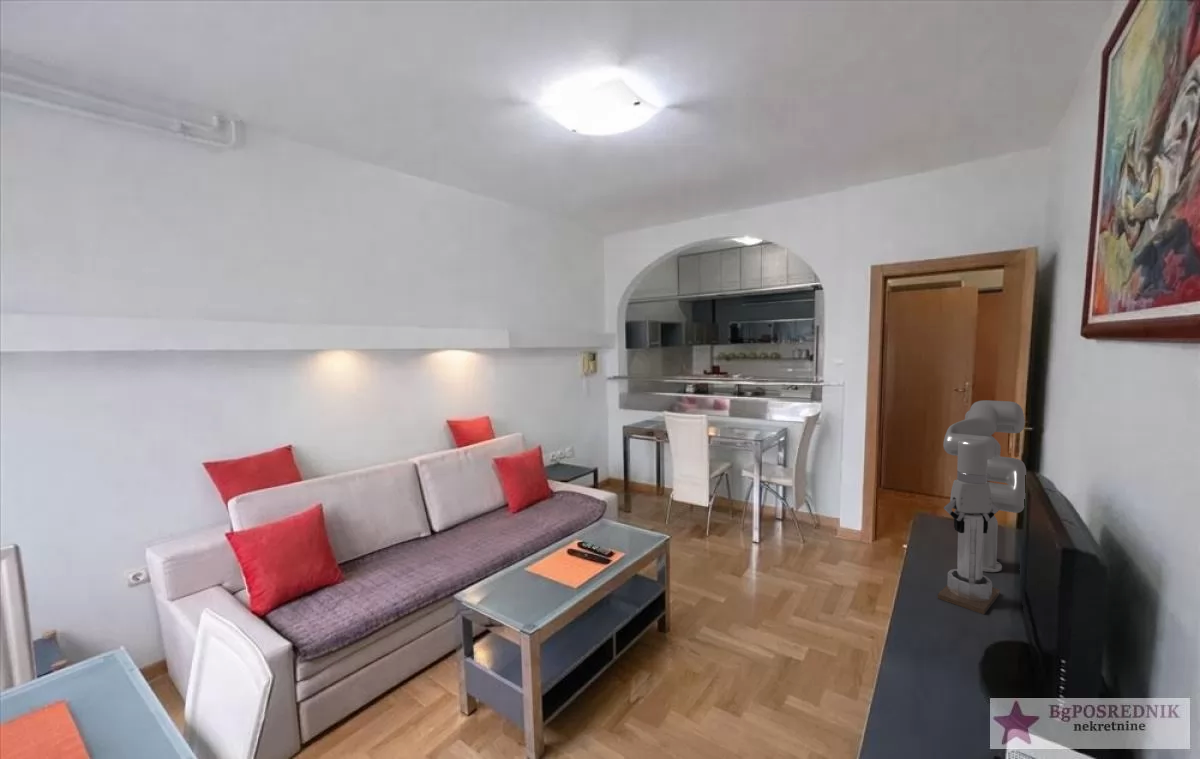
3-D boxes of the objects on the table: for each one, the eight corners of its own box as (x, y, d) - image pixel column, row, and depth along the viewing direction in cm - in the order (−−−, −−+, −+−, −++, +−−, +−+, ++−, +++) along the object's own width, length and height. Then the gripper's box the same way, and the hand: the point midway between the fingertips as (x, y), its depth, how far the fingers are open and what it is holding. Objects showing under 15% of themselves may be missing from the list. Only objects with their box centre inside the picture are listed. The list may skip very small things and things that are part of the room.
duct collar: (955, 580, 163) (956, 562, 162) (999, 594, 153) (1000, 575, 153) (937, 598, 152) (938, 579, 151) (984, 614, 142) (984, 594, 142)
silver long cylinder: (985, 588, 151) (987, 514, 149) (977, 595, 148) (979, 518, 146) (961, 580, 157) (963, 508, 155) (953, 586, 153) (955, 513, 151)
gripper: (993, 474, 152) (991, 527, 153) (935, 474, 154) (934, 526, 156) (1010, 481, 145) (1008, 536, 146) (949, 481, 147) (948, 535, 148)
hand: (970, 531), depth 151 cm, fingers closed on silver long cylinder, 6 cm apart
